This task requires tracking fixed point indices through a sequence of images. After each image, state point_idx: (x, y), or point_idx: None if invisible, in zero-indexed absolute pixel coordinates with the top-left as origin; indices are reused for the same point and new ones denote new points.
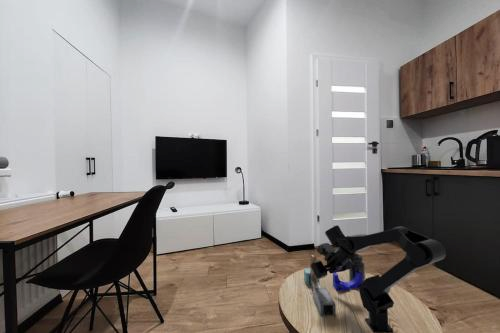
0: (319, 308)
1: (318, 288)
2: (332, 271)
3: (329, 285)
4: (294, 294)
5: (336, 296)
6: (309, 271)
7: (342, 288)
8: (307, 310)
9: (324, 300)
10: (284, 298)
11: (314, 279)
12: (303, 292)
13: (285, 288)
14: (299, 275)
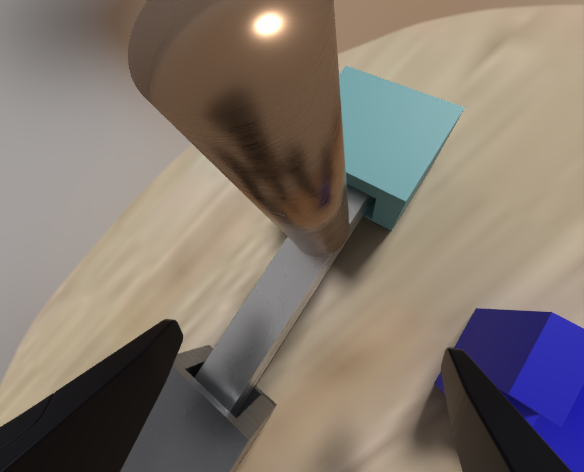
0: None
1: (188, 400)
2: (463, 447)
3: (447, 290)
4: (163, 246)
5: (357, 446)
6: (347, 130)
7: None
8: None
9: None
10: (99, 249)
11: (299, 247)
12: (216, 257)
13: (175, 168)
14: None
